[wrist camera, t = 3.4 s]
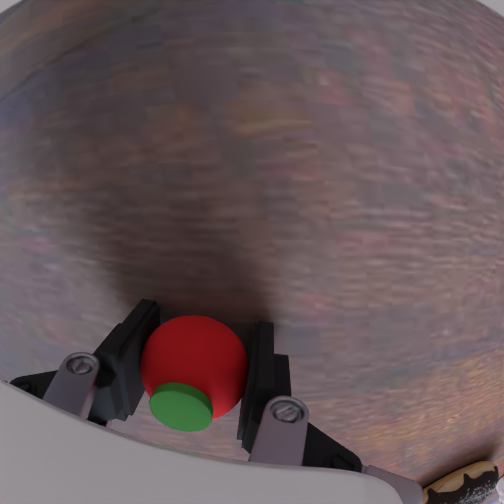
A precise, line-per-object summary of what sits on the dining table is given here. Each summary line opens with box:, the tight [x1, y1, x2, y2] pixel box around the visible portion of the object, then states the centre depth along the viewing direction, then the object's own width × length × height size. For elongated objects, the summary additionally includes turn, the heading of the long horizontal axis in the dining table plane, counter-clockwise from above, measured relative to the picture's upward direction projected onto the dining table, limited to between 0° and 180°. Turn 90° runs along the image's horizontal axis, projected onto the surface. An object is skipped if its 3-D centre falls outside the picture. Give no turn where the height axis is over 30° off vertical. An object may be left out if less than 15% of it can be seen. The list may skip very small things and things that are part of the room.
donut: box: [421, 461, 499, 504], centre depth 15 cm, size 11×12×4 cm
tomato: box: [140, 315, 249, 432], centre depth 10 cm, size 4×4×4 cm
